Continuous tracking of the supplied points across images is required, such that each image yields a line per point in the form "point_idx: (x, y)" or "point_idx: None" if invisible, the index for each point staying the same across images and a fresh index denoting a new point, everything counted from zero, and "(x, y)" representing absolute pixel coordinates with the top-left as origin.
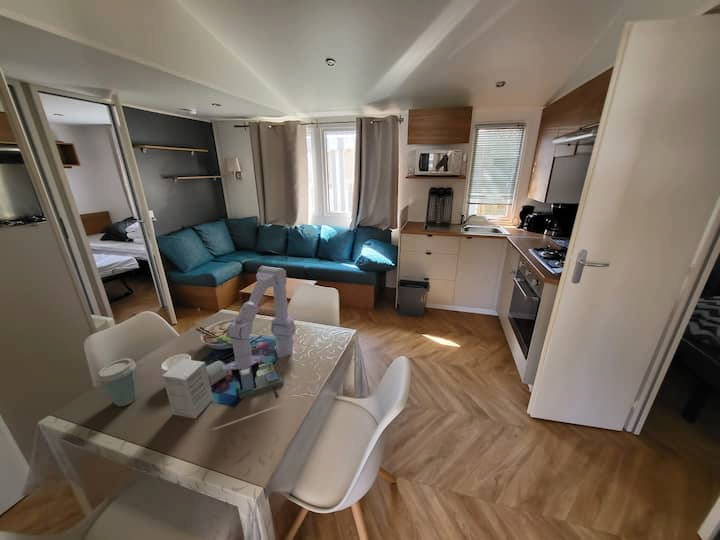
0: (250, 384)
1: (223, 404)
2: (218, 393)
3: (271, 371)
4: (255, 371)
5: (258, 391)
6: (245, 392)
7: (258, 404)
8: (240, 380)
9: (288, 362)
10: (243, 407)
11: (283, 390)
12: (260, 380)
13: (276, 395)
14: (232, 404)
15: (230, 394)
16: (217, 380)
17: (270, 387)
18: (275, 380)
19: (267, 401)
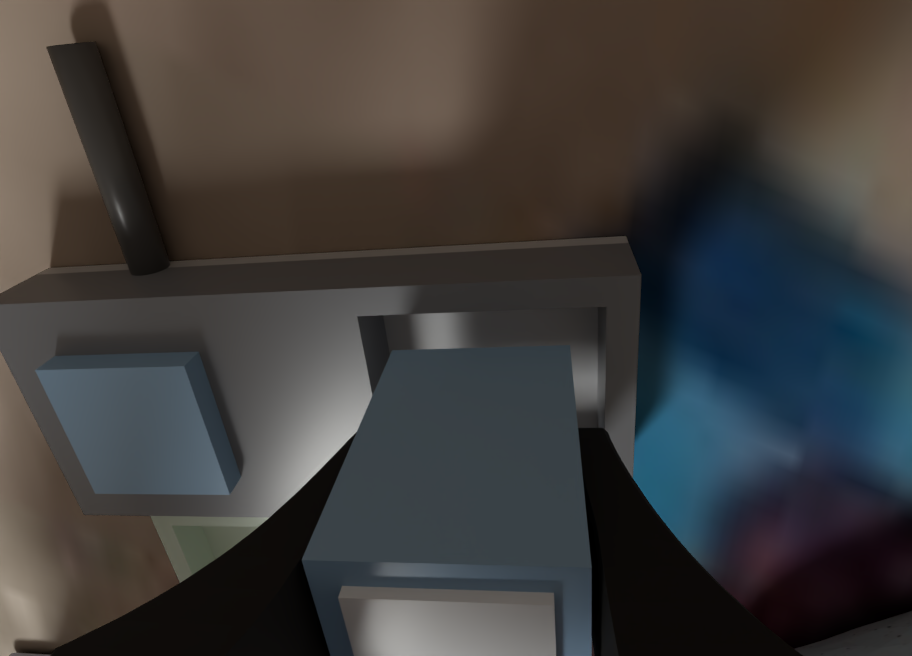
0: (431, 384)
1: (865, 248)
2: (870, 467)
3: (221, 536)
4: (200, 595)
5: (350, 266)
6: (534, 288)
7: (365, 29)
8: (600, 502)
9: (66, 581)
10: (595, 58)
11: (31, 180)
12: (309, 436)
13: (73, 75)
14: (743, 195)
15: (731, 392)
16: (866, 651)
17: (183, 276)
18: (91, 353)
19: (231, 41)
